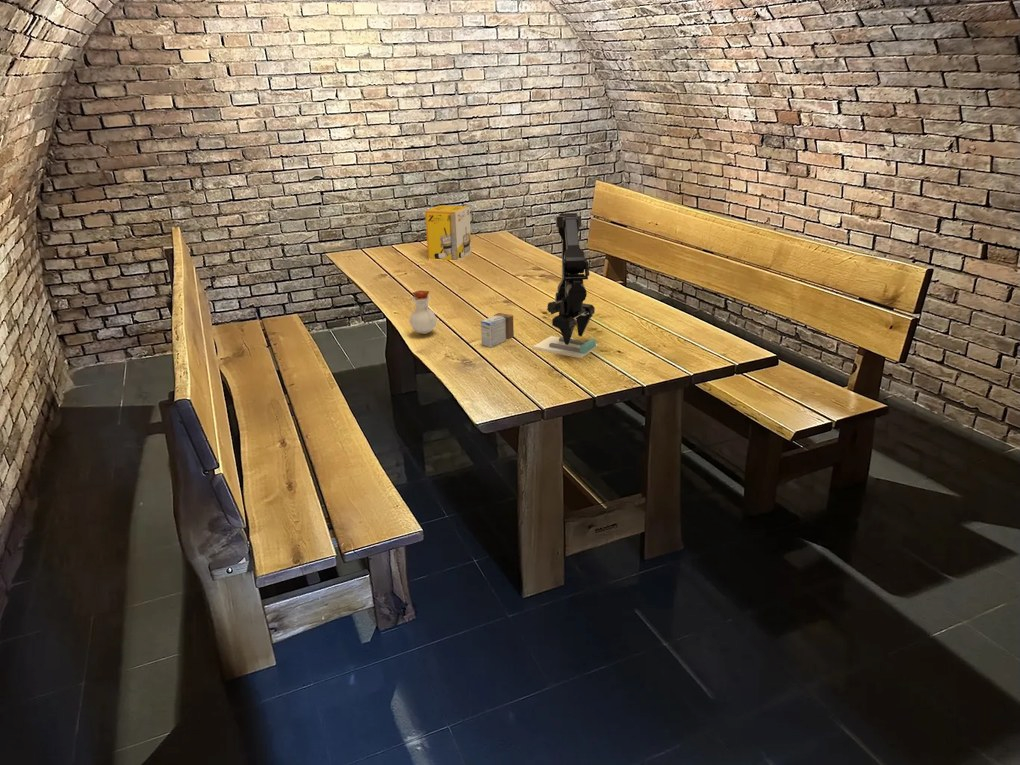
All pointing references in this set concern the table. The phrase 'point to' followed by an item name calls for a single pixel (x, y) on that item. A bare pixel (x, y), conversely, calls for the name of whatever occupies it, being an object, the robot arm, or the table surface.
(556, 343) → the rail board
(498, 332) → the medicine box
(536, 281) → the table surface
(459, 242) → the packaging box
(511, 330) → the panel
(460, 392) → the table surface
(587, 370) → the table surface
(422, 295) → the potion bottle
